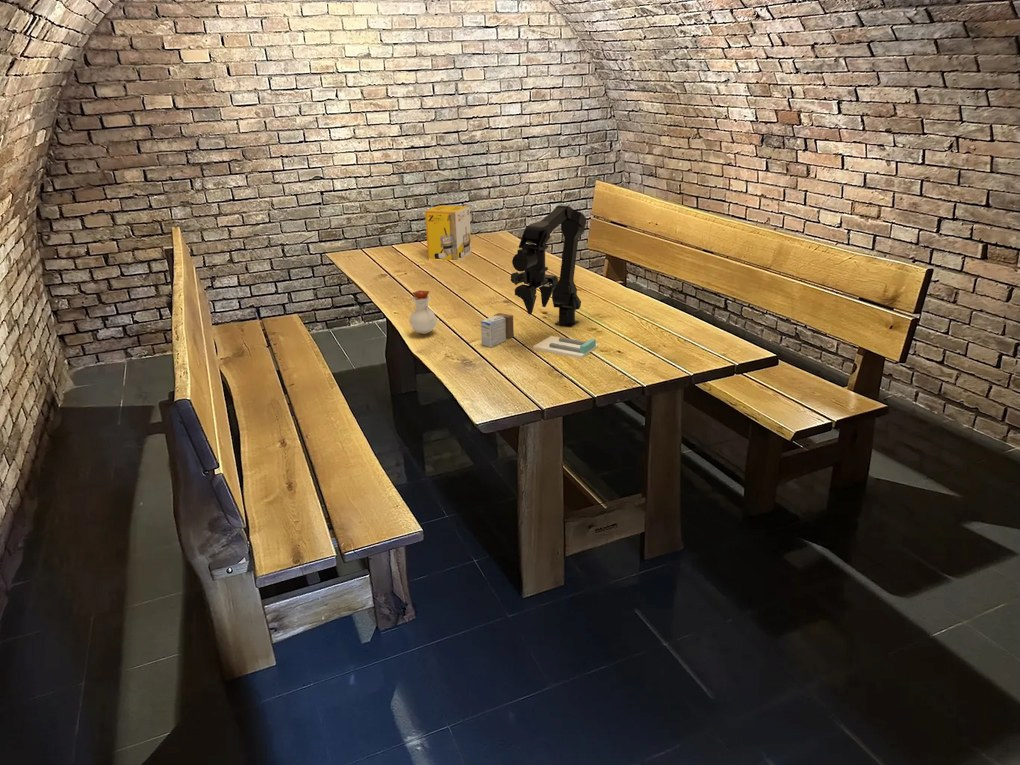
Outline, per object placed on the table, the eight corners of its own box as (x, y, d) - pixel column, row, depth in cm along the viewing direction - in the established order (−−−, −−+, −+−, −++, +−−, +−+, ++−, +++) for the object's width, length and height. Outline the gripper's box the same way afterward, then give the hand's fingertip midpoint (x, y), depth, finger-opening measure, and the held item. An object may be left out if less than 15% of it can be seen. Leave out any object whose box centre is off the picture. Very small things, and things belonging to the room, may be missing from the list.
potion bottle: (439, 336, 256) (437, 294, 251) (412, 339, 254) (408, 297, 248) (435, 328, 265) (432, 288, 259) (408, 331, 262) (405, 290, 257)
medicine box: (496, 338, 253) (495, 315, 249) (506, 341, 250) (505, 317, 246) (481, 345, 247) (480, 320, 244) (491, 347, 244) (490, 323, 241)
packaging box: (458, 264, 355) (455, 212, 345) (428, 261, 360) (424, 210, 350) (471, 256, 368) (469, 206, 359) (442, 254, 374) (439, 205, 364)
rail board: (551, 339, 251) (551, 329, 249) (598, 347, 242) (598, 337, 240) (533, 349, 242) (533, 339, 240) (581, 359, 232) (581, 348, 231)
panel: (498, 312, 254) (513, 315, 251) (499, 334, 257) (513, 337, 254) (493, 315, 251) (508, 317, 248) (494, 337, 254) (509, 339, 251)
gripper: (530, 256, 248) (530, 300, 254) (500, 268, 234) (501, 314, 240) (558, 259, 242) (558, 304, 248) (529, 272, 228) (530, 319, 234)
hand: (537, 310), depth 243 cm, fingers open, 9 cm apart
